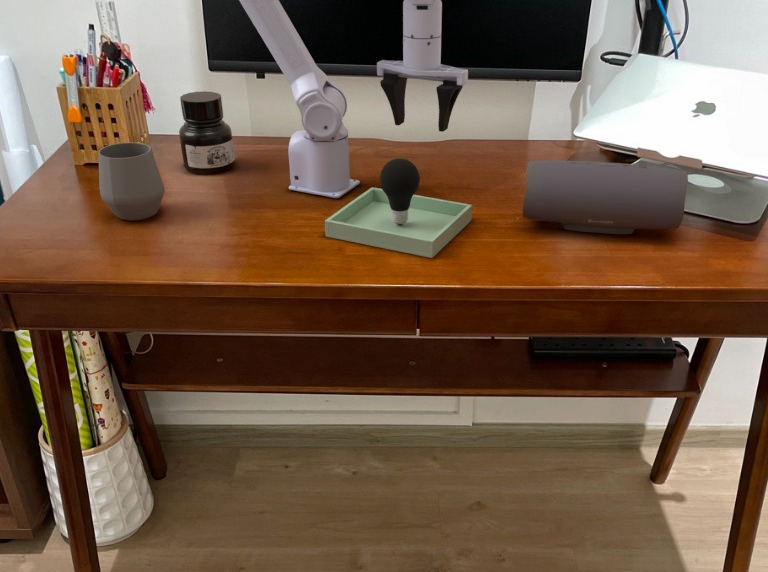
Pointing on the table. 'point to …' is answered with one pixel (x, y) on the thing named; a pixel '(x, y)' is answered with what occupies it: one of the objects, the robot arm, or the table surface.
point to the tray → (416, 236)
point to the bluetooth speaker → (605, 196)
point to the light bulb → (399, 187)
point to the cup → (130, 180)
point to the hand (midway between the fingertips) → (421, 126)
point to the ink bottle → (205, 134)
